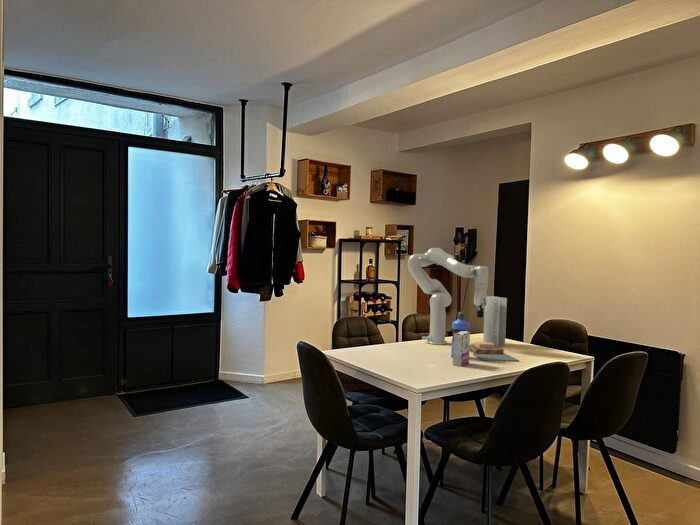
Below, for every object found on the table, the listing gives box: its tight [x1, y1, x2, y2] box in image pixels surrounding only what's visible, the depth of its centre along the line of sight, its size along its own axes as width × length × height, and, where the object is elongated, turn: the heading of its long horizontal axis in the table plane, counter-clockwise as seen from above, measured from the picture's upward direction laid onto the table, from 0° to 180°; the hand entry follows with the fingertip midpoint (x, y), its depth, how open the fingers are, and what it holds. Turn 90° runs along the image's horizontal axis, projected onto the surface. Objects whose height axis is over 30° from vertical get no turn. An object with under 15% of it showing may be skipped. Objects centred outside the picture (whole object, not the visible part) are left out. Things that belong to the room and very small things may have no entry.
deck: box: [469, 344, 505, 354], centre depth 305 cm, size 16×13×3 cm
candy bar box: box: [452, 331, 471, 368], centre depth 271 cm, size 11×5×16 cm, turn 148°
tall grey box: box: [482, 295, 508, 347], centre depth 336 cm, size 14×6×30 cm, turn 25°
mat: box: [472, 353, 520, 362], centre depth 290 cm, size 20×16×1 cm
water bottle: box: [450, 311, 471, 359], centre depth 289 cm, size 9×9×25 cm
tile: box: [474, 341, 495, 348], centre depth 307 cm, size 9×7×2 cm
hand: (480, 317), depth 317 cm, fingers closed
